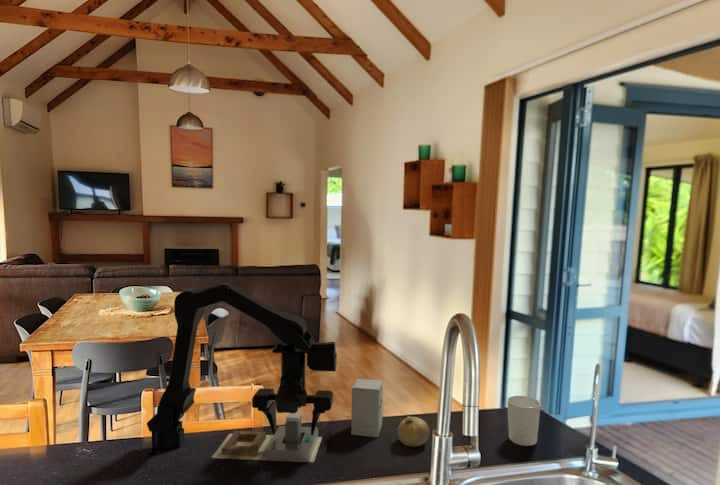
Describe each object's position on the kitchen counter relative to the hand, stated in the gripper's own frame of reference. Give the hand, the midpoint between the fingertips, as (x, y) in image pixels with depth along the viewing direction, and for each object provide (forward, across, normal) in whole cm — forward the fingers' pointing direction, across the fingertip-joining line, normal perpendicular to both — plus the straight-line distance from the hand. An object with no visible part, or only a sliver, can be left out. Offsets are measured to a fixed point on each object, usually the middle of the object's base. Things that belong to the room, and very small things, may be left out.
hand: (293, 433), depth 113 cm
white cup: (+5, +57, +11) cm, 58 cm away
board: (+4, -6, 0) cm, 8 cm away
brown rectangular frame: (+4, -12, 0) cm, 13 cm away
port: (+4, 0, 0) cm, 4 cm away
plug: (+4, 0, 0) cm, 4 cm away
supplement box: (+5, +17, +13) cm, 22 cm away
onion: (+5, +29, +7) cm, 30 cm away
